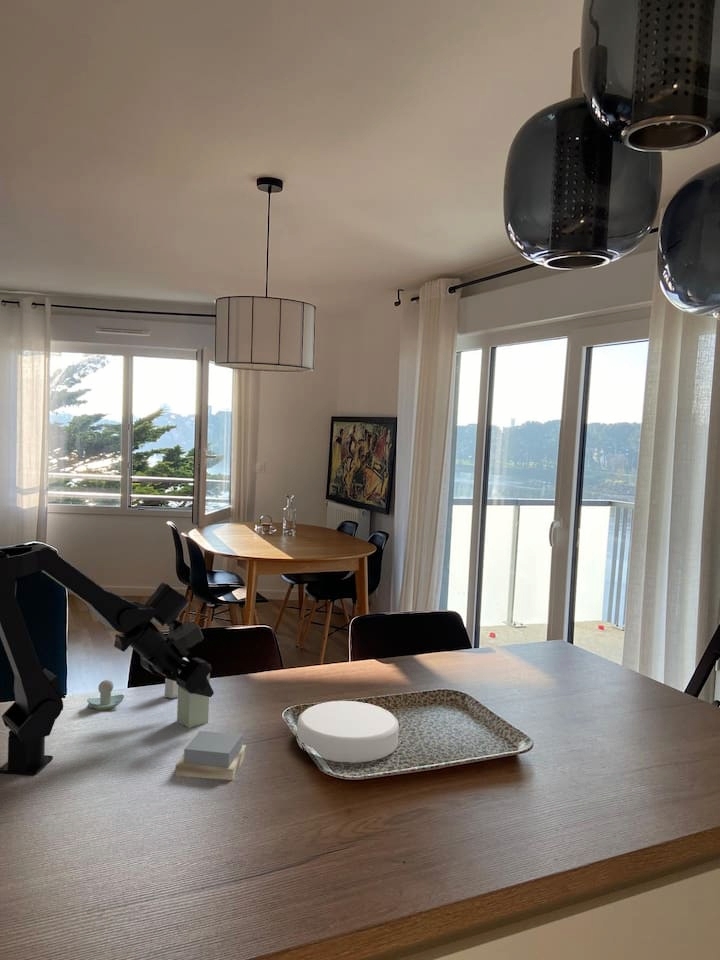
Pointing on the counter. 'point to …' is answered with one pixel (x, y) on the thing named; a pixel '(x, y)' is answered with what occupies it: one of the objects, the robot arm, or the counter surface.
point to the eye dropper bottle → (171, 687)
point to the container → (348, 731)
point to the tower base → (210, 768)
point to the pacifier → (105, 697)
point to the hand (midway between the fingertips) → (199, 688)
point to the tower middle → (213, 749)
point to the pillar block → (192, 708)
